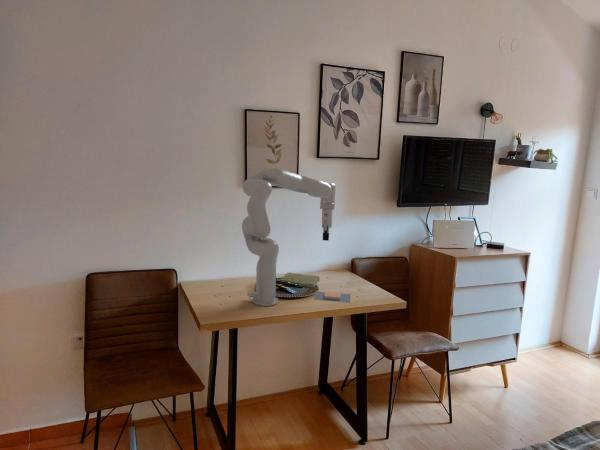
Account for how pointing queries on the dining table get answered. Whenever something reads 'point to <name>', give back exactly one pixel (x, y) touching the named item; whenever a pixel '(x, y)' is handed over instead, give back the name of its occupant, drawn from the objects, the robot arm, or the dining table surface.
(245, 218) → the robot arm
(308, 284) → the decorative tile
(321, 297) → the rubber mat
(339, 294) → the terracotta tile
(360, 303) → the dining table surface
